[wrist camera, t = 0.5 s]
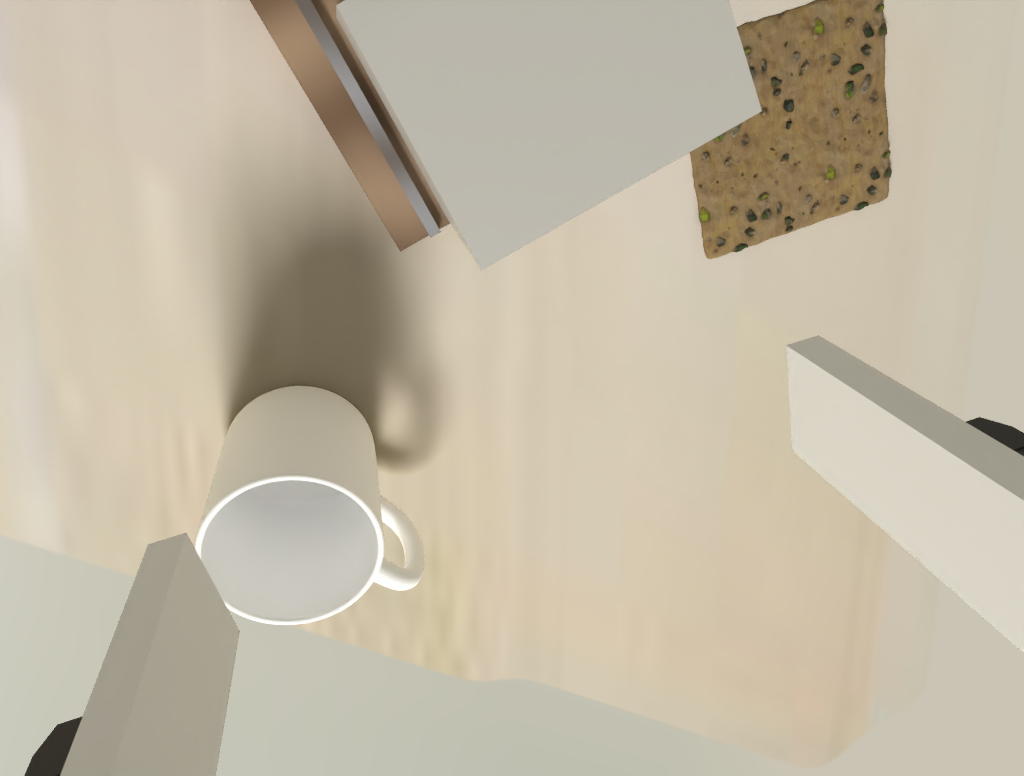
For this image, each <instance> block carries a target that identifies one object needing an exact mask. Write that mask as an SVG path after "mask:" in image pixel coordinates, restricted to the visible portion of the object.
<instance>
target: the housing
mask: <svg viewBox="0 0 1024 776" xmlns="http://www.w3.org/2000/svg"><path fill="white" fill-rule="evenodd" d="M336 18H337V20H338V22H339V24H340V26H341V28H342V29H343V31H344V33H345V35H346V37H347V38H348V40H349V42H350V44H351V46H352V47H353V49H354V51H355V53H356V55H357V57H358V58H359V60H360V62H361V64H362V66H363V67H364V69H365V71H366V73H367V75H368V76H369V78H370V80H371V82H372V84H373V86H374V87H375V89H376V91H377V93H378V95H379V96H380V98H381V100H382V102H383V104H384V105H385V107H386V109H387V111H388V113H389V115H390V116H391V118H392V120H393V122H394V124H395V125H396V127H397V129H398V131H399V133H400V134H401V136H402V138H403V140H404V142H405V144H406V145H407V147H408V149H409V151H410V153H411V154H412V156H413V158H414V160H415V162H416V163H417V165H418V167H419V169H420V171H421V172H422V174H423V176H424V178H425V180H426V182H427V183H428V185H429V187H430V189H431V191H432V192H433V194H434V196H435V198H436V200H437V201H438V203H439V205H440V207H441V209H442V211H443V212H444V214H445V216H446V218H447V219H448V221H449V222H450V224H451V225H452V227H453V228H454V230H455V231H456V233H457V234H458V236H459V237H460V239H461V240H462V242H463V243H464V245H465V246H466V248H467V249H468V251H469V252H470V254H471V255H472V257H473V258H474V260H475V261H476V263H477V264H478V266H479V267H480V269H481V270H483V269H485V268H486V267H488V266H490V265H492V264H493V263H495V262H497V261H499V260H500V259H502V258H504V257H506V256H508V255H509V254H511V253H513V252H515V251H516V250H518V249H520V248H522V247H523V246H525V245H527V244H529V243H530V242H532V241H534V240H536V239H538V238H539V237H541V236H543V235H545V234H546V233H548V232H550V231H552V230H553V229H555V228H557V227H559V226H560V225H562V224H564V223H566V222H567V221H569V220H571V219H573V218H575V217H576V216H578V215H580V214H582V213H583V212H585V211H587V210H589V209H590V208H592V207H594V206H596V205H597V204H599V203H601V202H603V201H605V200H606V199H608V198H610V197H612V196H613V195H615V194H617V193H619V192H620V191H622V190H624V189H626V188H627V187H629V186H631V185H633V184H634V183H636V182H638V181H640V180H642V179H643V178H645V177H647V176H649V175H650V174H652V173H654V172H656V171H657V170H659V169H661V168H663V167H664V166H666V165H668V164H670V163H672V162H673V161H675V160H677V159H679V158H680V157H682V156H684V155H686V154H687V153H689V152H691V151H693V150H694V149H696V148H698V147H700V146H701V145H703V144H705V143H707V142H709V141H710V140H712V139H714V138H716V137H717V136H719V135H721V134H723V133H724V132H726V131H728V130H730V129H731V128H733V127H735V126H737V125H739V124H740V123H742V122H744V121H746V120H747V119H749V118H751V117H753V116H754V115H756V114H758V113H760V112H761V111H762V109H761V106H760V103H759V99H758V96H757V93H756V89H755V86H754V83H753V79H752V76H751V73H750V69H749V66H748V63H747V59H746V56H745V53H744V50H743V46H742V43H741V40H740V36H739V33H738V30H737V26H736V23H735V20H734V16H733V13H732V10H731V6H730V3H729V0H344V1H343V2H341V3H339V4H337V5H336Z"/></svg>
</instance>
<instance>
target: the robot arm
mask: <svg viewBox="0 0 1024 776" xmlns="http://www.w3.org/2000/svg"><path fill="white" fill-rule="evenodd" d="M786 349H787V366H788V384H789V401H790V419H791V437H792V450H793V451H794V452H795V453H796V454H797V455H798V456H799V457H801V458H802V459H803V460H804V461H805V462H806V463H807V464H809V465H810V466H811V467H812V468H813V469H814V470H815V471H817V472H818V473H819V474H820V475H821V476H822V477H823V478H825V479H826V480H827V481H828V482H829V483H830V484H831V485H833V486H834V487H835V488H836V489H837V490H838V491H839V492H841V493H842V494H843V495H844V496H845V497H846V498H847V499H849V500H850V501H851V502H852V503H853V504H854V505H855V506H857V507H858V508H859V509H860V510H861V511H862V512H863V513H865V514H866V515H867V516H868V517H869V518H870V519H871V520H873V521H874V522H875V523H876V524H877V525H878V526H879V527H881V528H882V529H883V530H884V531H885V532H886V533H887V534H889V535H890V536H891V537H892V538H893V539H894V540H895V541H897V542H898V543H899V544H900V545H901V546H902V547H903V548H905V549H906V550H907V551H908V552H909V553H910V554H911V555H913V556H914V557H915V558H916V559H917V560H918V561H919V562H921V563H922V564H923V565H924V566H925V567H926V568H927V569H929V570H930V571H931V572H932V573H933V574H934V575H935V576H937V577H938V578H939V579H940V580H941V581H942V582H943V583H945V584H946V585H947V586H948V587H949V588H950V589H951V590H953V591H954V592H955V593H956V594H957V595H958V596H960V597H961V598H962V599H963V600H964V601H965V602H966V603H967V604H969V605H970V606H971V607H972V608H973V609H974V610H975V611H977V612H978V613H979V614H980V615H981V616H982V617H983V618H985V619H986V620H987V621H988V622H989V623H990V624H991V625H993V626H994V627H995V628H996V629H997V630H998V631H999V632H1001V633H1002V634H1003V635H1004V636H1005V637H1006V638H1007V639H1009V640H1010V641H1011V642H1012V643H1013V644H1014V645H1015V646H1017V647H1018V648H1019V649H1020V650H1021V651H1022V652H1023V653H1024V433H1023V432H1021V431H1019V430H1017V429H1016V428H1014V427H1012V426H1008V425H1005V424H1001V423H998V422H994V421H990V420H987V419H984V418H980V417H979V418H976V419H973V420H970V421H967V422H964V421H963V420H961V419H959V418H958V417H956V416H954V415H953V414H951V413H949V412H947V411H946V410H944V409H942V408H941V407H939V406H937V405H936V404H934V403H932V402H931V401H929V400H927V399H925V398H924V397H922V396H920V395H919V394H917V393H915V392H914V391H912V390H910V389H908V388H907V387H905V386H903V385H902V384H900V383H898V382H897V381H895V380H893V379H891V378H890V377H888V376H886V375H885V374H883V373H881V372H880V371H878V370H876V369H875V368H873V367H871V366H869V365H868V364H866V363H864V362H863V361H861V360H859V359H858V358H856V357H854V356H852V355H851V354H849V353H847V352H846V351H844V350H842V349H841V348H839V347H837V346H836V345H834V344H832V343H830V342H829V341H827V340H825V339H824V338H822V337H820V336H819V335H818V336H815V337H812V338H809V339H805V340H802V341H799V342H796V343H793V344H789V345H786ZM239 632H240V631H239V629H238V627H237V625H236V623H235V621H234V620H233V618H232V616H231V614H230V612H229V610H228V609H227V607H226V605H225V603H224V601H223V599H222V597H221V596H220V594H219V592H218V590H217V588H216V586H215V585H214V583H213V581H212V579H211V577H210V575H209V574H208V572H207V570H206V568H205V566H204V564H203V563H202V561H201V559H200V557H199V555H198V553H197V551H196V550H195V548H194V546H193V544H192V542H191V540H190V539H189V537H188V535H187V533H184V534H181V535H177V536H174V537H171V538H168V539H164V540H161V541H158V542H155V543H152V544H148V546H147V549H146V552H145V554H144V557H143V559H142V562H141V565H140V567H139V570H138V573H137V575H136V578H135V581H134V583H133V586H132V588H131V591H130V594H129V596H128V599H127V602H126V604H125V607H124V609H123V612H122V615H121V617H120V620H119V622H118V625H117V628H116V631H115V633H114V636H113V638H112V641H111V643H110V646H109V649H108V651H107V654H106V657H105V659H104V662H103V664H102V667H101V670H100V672H99V675H98V678H97V681H96V683H95V685H94V688H93V691H92V693H91V696H90V699H89V701H88V704H87V706H86V709H85V712H84V714H83V716H82V717H80V718H77V719H73V720H70V721H67V722H64V723H61V724H58V725H57V726H56V727H55V728H54V730H53V731H52V732H51V734H50V735H49V736H48V737H47V739H46V740H45V741H44V743H43V744H42V745H41V746H40V748H39V749H38V750H37V752H36V753H35V754H34V756H33V757H32V759H31V762H30V764H29V767H28V769H27V771H26V773H25V776H216V770H217V764H218V758H219V752H220V746H221V740H222V734H223V728H224V722H225V716H226V710H227V704H228V698H229V692H230V686H231V680H232V674H233V668H234V662H235V656H236V650H237V644H238V638H239Z"/></svg>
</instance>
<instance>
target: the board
mask: <svg viewBox="0 0 1024 776" xmlns="http://www.w3.org/2000/svg"><path fill="white" fill-rule="evenodd" d="M250 1H251V3H252V5H253V6H254V8H255V10H256V11H257V13H258V15H259V16H260V18H261V20H262V21H263V23H264V25H265V26H266V28H267V30H268V31H269V33H270V35H271V36H272V38H273V40H274V41H275V43H276V45H277V46H278V48H279V50H280V51H281V53H282V55H283V56H284V58H285V60H286V61H287V63H288V65H289V66H290V68H291V70H292V71H293V73H294V75H295V76H296V78H297V80H298V81H299V83H300V85H301V86H302V88H303V90H304V91H305V93H306V95H307V96H308V98H309V100H310V101H311V103H312V105H313V106H314V108H315V110H316V111H317V113H318V115H319V116H320V118H321V120H322V121H323V123H324V125H325V126H326V128H327V130H328V131H329V133H330V135H331V136H332V138H333V140H334V141H335V143H336V145H337V146H338V148H339V150H340V151H341V153H342V155H343V156H344V158H345V160H346V161H347V163H348V165H349V167H350V168H351V170H352V172H353V173H354V175H355V177H356V178H357V180H358V182H359V183H360V185H361V187H362V188H363V190H364V192H365V193H366V195H367V197H368V198H369V200H370V202H371V203H372V205H373V207H374V208H375V210H376V212H377V213H378V215H379V217H380V218H381V220H382V222H383V223H384V225H385V227H386V228H387V230H388V232H389V233H390V235H391V237H392V238H393V240H394V242H395V243H396V245H397V247H398V248H399V250H400V251H402V250H404V249H405V248H407V247H409V246H411V245H413V244H414V243H416V242H418V241H420V240H421V239H423V238H425V237H427V236H428V235H429V236H430V238H431V237H433V236H434V235H436V234H438V233H440V232H441V231H440V229H441V228H442V227H444V226H446V225H448V224H449V223H450V222H449V221H448V219H447V218H446V216H445V214H444V212H443V211H442V209H441V207H440V205H439V203H438V201H437V200H436V198H435V196H434V194H433V192H432V191H431V189H430V187H429V185H428V183H427V182H426V180H425V178H424V176H423V174H422V172H421V171H420V169H419V167H418V165H417V163H416V162H415V160H414V158H413V156H412V154H411V153H410V151H409V149H408V147H407V145H406V144H405V142H404V140H403V138H402V136H401V134H400V133H399V131H398V129H397V127H396V125H395V124H394V122H393V120H392V118H391V116H390V115H389V113H388V111H387V109H386V107H385V105H384V104H383V102H382V100H381V98H380V96H379V95H378V93H377V91H376V89H375V87H374V86H373V84H372V82H371V80H370V78H369V76H368V75H367V73H366V71H365V69H364V67H363V66H362V64H361V62H360V60H359V58H358V57H357V55H356V53H355V51H354V49H353V47H352V46H351V44H350V42H349V40H348V38H347V37H346V35H345V33H344V31H343V29H342V28H341V26H340V24H339V22H338V20H337V18H336V5H337V4H339V3H341V2H343V1H344V0H250Z"/></svg>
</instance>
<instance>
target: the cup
mask: <svg viewBox="0 0 1024 776" xmlns="http://www.w3.org/2000/svg"><path fill="white" fill-rule="evenodd" d="M382 521H383V522H384V523H385V524H387V525H388V526H389V527H390V528H391V529H392V530H393V531H394V532H395V533H396V534H397V535H398V537H399V538H400V540H401V542H402V545H403V548H404V553H405V565H404V567H401V566H399V565H397V564H395V563H393V562H391V561H389V560H388V559H386V558H384V557H383V556H384V534H383V524H382ZM195 550H196V551H197V553H198V555H199V557H200V559H201V561H202V563H203V564H204V566H205V568H206V570H207V572H208V574H209V575H210V577H211V579H212V581H213V583H214V585H215V586H216V588H217V590H218V592H219V594H220V596H221V597H222V599H223V601H224V603H225V605H226V607H227V608H228V609H229V610H231V611H233V612H234V613H236V614H238V615H241V616H243V617H245V618H248V619H251V620H254V621H258V622H263V623H268V624H277V625H294V624H303V623H309V622H314V621H317V620H321V619H324V618H326V617H329V616H332V615H334V614H336V613H338V612H340V611H342V610H344V609H345V608H347V607H348V606H350V605H351V604H353V603H354V602H355V601H356V600H358V599H359V598H360V597H361V596H362V595H363V594H364V593H365V592H366V591H367V589H368V588H369V587H370V586H371V584H372V583H373V582H376V583H378V584H380V585H383V586H385V587H388V588H391V589H394V590H407V589H411V588H413V587H414V586H415V585H417V584H418V582H419V581H420V579H421V577H422V575H423V571H424V549H423V545H422V542H421V539H420V536H419V534H418V532H417V530H416V528H415V526H414V525H413V523H412V522H411V520H410V519H409V518H408V517H407V516H406V514H405V513H404V512H403V511H402V510H400V509H399V508H398V507H397V506H396V505H394V504H393V503H392V502H390V501H389V500H388V499H386V498H385V497H383V496H381V495H380V493H379V482H378V472H377V462H376V452H375V445H374V440H373V436H372V433H371V430H370V428H369V426H368V424H367V422H366V420H365V418H364V417H363V416H362V414H361V413H360V412H359V411H358V410H357V408H355V407H354V406H353V405H352V404H351V403H350V402H348V401H347V400H346V399H344V398H342V397H341V396H339V395H337V394H335V393H333V392H330V391H328V390H325V389H321V388H317V387H311V386H289V387H283V388H279V389H275V390H272V391H269V392H267V393H265V394H262V395H261V396H259V397H257V398H255V399H254V400H252V401H251V402H250V403H248V404H247V405H246V406H245V407H244V408H243V409H242V410H241V411H240V412H239V413H238V415H237V416H236V417H235V419H234V420H233V422H232V423H231V425H230V427H229V429H228V431H227V434H226V437H225V440H224V443H223V446H222V449H221V453H220V456H219V460H218V463H217V467H216V470H215V474H214V477H213V481H212V484H211V487H210V491H209V494H208V498H207V501H206V505H205V508H204V512H203V515H202V519H201V522H200V526H199V529H198V533H197V536H196V541H195Z"/></svg>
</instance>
